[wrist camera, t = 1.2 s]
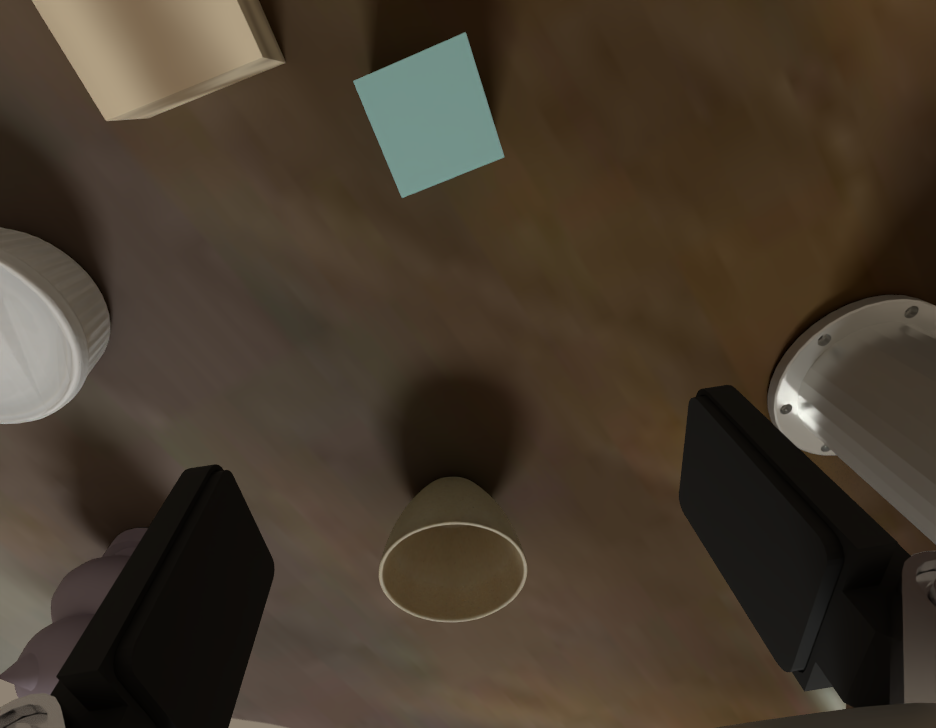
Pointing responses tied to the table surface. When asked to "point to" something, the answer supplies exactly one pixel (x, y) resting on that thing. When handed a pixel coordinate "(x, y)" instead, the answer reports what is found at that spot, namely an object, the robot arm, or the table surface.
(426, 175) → the block
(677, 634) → the table surface
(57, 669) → the cat figurine
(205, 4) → the base
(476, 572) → the flower pot
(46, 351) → the ramekin
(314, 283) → the table surface
